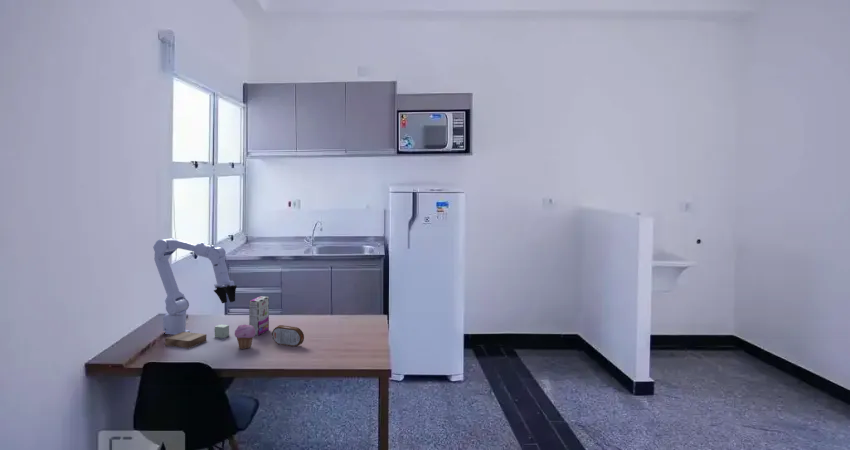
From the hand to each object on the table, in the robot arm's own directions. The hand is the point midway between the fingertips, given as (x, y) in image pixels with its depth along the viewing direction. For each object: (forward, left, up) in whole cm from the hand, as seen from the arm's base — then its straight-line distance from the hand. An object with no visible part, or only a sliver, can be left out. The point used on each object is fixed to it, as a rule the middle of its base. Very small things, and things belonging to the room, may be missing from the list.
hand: (228, 302), depth 278 cm
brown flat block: (-12, -15, -16) cm, 25 cm away
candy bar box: (+8, +12, -16) cm, 22 cm away
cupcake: (+15, -12, -16) cm, 25 cm away
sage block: (-4, 0, -16) cm, 17 cm away
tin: (+30, -2, -17) cm, 35 cm away
